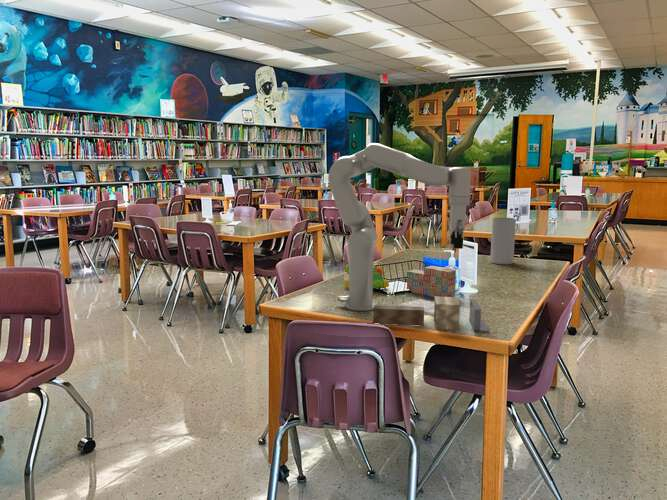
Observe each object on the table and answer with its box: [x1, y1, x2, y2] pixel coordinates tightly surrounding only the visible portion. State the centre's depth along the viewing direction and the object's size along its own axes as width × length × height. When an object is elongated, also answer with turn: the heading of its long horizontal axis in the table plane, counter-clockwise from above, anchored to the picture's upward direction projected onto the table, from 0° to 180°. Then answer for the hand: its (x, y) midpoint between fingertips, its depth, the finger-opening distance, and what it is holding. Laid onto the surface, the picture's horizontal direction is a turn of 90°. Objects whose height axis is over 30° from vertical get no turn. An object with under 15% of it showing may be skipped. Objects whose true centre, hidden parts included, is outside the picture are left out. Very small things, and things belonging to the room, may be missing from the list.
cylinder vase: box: [490, 216, 517, 266], centre depth 327 cm, size 12×12×25 cm
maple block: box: [433, 296, 461, 331], centre depth 208 cm, size 8×11×9 cm
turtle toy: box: [344, 262, 390, 290], centre depth 265 cm, size 17×23×12 cm
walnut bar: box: [372, 304, 425, 327], centre depth 211 cm, size 18×5×6 cm, turn 84°
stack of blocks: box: [406, 265, 457, 298], centre depth 254 cm, size 21×6×12 cm, turn 46°
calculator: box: [399, 298, 435, 317], centre depth 230 cm, size 13×20×2 cm, turn 41°
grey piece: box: [468, 298, 490, 333], centre depth 207 cm, size 5×14×8 cm, turn 174°
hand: (456, 246), depth 219 cm, fingers open, 9 cm apart
